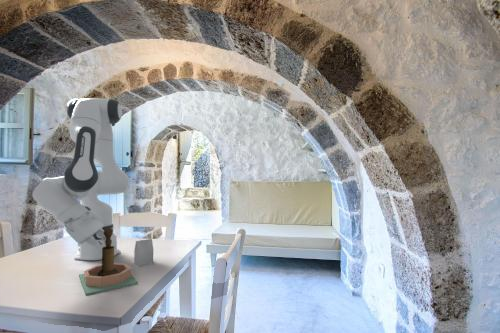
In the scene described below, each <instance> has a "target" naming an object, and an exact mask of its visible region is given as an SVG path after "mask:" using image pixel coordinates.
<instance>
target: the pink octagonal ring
mask: <svg viewBox="0 0 500 333" xmlns="http://www.w3.org/2000/svg"><path fill="white" fill-rule="evenodd" d="M114 268H115V269H116V270H118V272H120V273H119V274H114V275H108V276H103V277H102V276H96V275H98V272H99V271H100V270H102V264H98V265H94V266H93V267H90V268H87V269H86V270H85V271H83V274H84V282H85V285H86V286H97V287H104V286H109V285H113V284H118V283H122V282H123V281H125V280H126V279H128V278H129V277H130V275H132V273H131V271H132V270H131V267H130V266H129V265H128V264H127V263H121V262H119V263H118V262H117V263H116V262H114Z"/></svg>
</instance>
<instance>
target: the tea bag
mask: <svg viewBox="0 0 500 333" xmlns="http://www.w3.org/2000/svg"><path fill="white" fill-rule="evenodd" d="M133 252H134V257H133V259H134V260H133V261H134V262H133V263H134V265H135V266H136V267H140V266H141V267H142V266H144V265H150V264H154V244H153V238H148V239H140V240H135V245H134V250H133Z"/></svg>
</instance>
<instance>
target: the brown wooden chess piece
mask: <svg viewBox="0 0 500 333" xmlns="http://www.w3.org/2000/svg"><path fill="white" fill-rule="evenodd" d="M112 234H114V229H113V230H112V229H111V228H107V229H105V230H104V235H105V237H106V241H105V244H106V247H103V248H102V259H101V265H102V270H100V271H99V272H98V276H102V277H103V276H108V275H114V274H118V270H116V269H115V268H114V263H115V255H114V246H111V243H112V240H111V236H112Z"/></svg>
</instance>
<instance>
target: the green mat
mask: <svg viewBox="0 0 500 333" xmlns="http://www.w3.org/2000/svg"><path fill="white" fill-rule="evenodd" d="M119 273H120V272H118V274H119ZM96 276H98V275H96ZM78 277H79V280H80V283H81V286H82V289H83V292H84V294H85V296H90V295H95V294H99V293H102V292H107V291H112V290H113V291H114V290H118V289H122V288H126V287H130V286H134V285H135V286H136V285H138V284H139V281H138V280H137V279H136V278H135V277H134V276H133V275H132V274H131V275H130V277H129V278H128V279H126V280H125V281H123V282H122V283H118V284H113V285H109V286H104V287H97V286H86V285H85V282H84V273H80V274H78Z"/></svg>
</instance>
